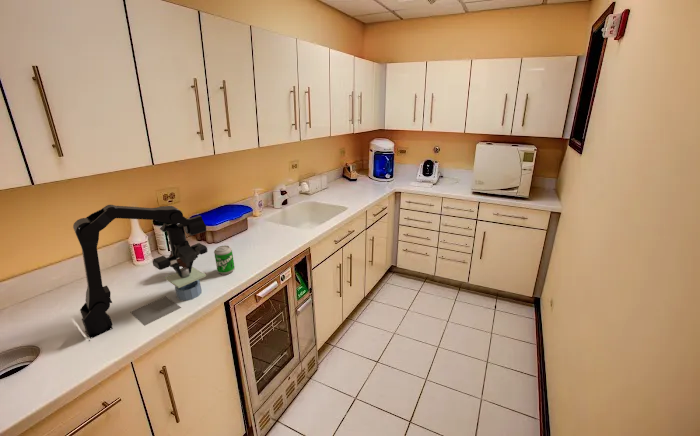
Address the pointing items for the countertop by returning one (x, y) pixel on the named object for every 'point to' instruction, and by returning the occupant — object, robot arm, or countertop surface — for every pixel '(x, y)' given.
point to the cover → (185, 277)
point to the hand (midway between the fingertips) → (185, 274)
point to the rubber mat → (155, 310)
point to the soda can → (224, 260)
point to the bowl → (189, 291)
